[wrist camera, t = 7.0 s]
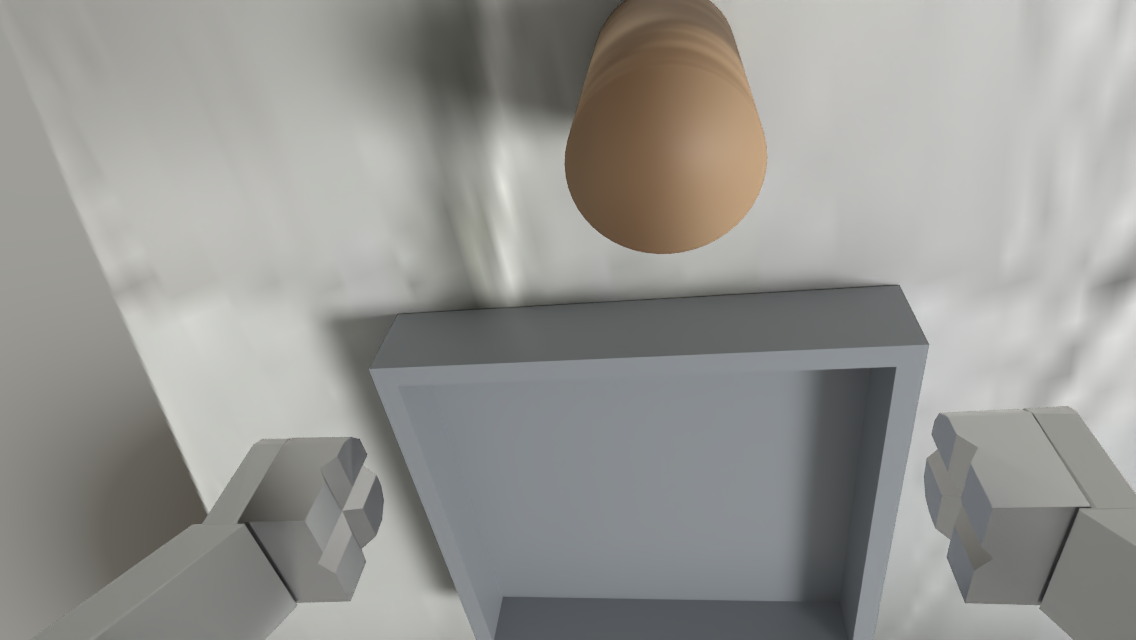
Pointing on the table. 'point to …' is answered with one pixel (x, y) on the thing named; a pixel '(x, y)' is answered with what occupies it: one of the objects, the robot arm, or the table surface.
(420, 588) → the table surface
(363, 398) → the table surface
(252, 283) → the table surface
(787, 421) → the tray
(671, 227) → the tan rounded cylinder
